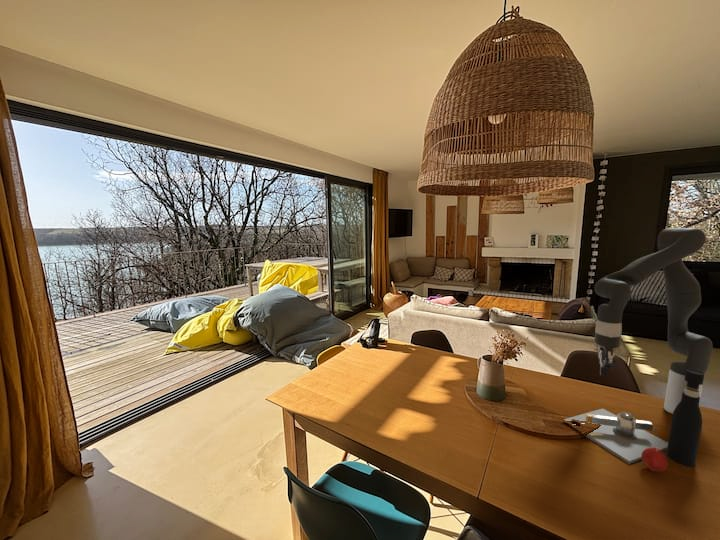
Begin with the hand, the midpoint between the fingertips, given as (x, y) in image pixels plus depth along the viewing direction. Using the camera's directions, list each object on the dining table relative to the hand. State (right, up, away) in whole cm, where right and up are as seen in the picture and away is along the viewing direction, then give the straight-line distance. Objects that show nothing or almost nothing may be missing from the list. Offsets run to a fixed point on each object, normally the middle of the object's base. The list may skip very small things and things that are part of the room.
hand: (603, 375), depth 115 cm
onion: (-3, -22, -22) cm, 31 cm away
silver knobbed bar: (-1, -18, -7) cm, 19 cm away
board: (-1, -19, -6) cm, 20 cm away
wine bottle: (+10, -21, -18) cm, 29 cm away
